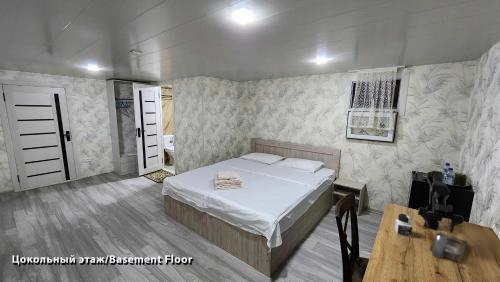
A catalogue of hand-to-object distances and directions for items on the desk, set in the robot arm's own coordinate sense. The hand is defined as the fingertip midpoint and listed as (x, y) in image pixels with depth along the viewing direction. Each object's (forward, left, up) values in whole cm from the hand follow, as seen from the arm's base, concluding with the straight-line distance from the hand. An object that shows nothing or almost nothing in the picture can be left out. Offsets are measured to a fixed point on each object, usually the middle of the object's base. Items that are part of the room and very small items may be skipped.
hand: (439, 230), depth 114 cm
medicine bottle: (-17, +4, -12) cm, 21 cm away
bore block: (+4, +8, -12) cm, 15 cm away
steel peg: (+2, -6, -12) cm, 13 cm away
